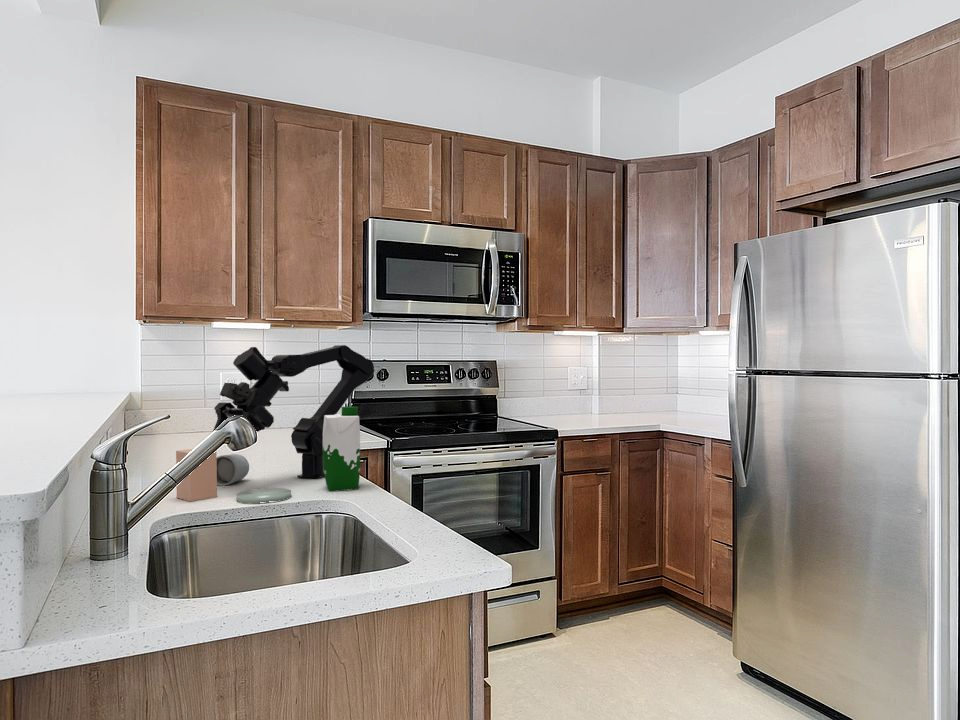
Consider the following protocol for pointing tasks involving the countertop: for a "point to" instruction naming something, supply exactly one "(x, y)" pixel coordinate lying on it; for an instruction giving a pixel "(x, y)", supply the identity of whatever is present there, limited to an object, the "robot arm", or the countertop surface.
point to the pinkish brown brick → (198, 479)
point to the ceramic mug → (231, 469)
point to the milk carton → (342, 449)
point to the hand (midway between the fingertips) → (221, 440)
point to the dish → (263, 495)
